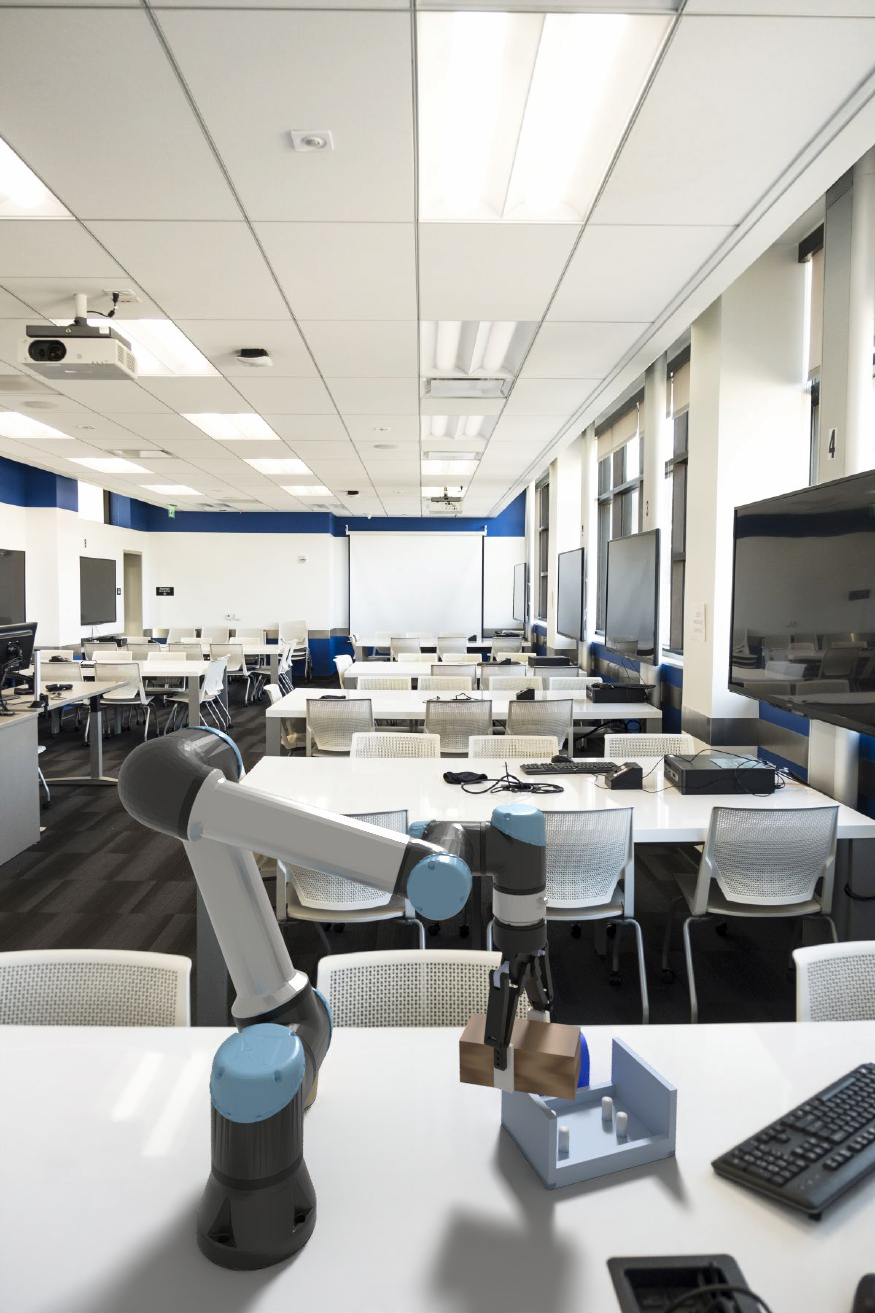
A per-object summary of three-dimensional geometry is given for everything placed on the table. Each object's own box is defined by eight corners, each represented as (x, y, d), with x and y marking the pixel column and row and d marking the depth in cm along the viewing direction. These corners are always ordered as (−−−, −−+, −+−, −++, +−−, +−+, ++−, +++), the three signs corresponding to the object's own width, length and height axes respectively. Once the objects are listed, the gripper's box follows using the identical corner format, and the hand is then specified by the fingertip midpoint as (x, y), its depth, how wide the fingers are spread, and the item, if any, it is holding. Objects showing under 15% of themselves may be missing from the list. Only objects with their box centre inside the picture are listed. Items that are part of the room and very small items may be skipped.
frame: (548, 1190, 107) (549, 1120, 106) (501, 1123, 121) (502, 1060, 121) (675, 1155, 114) (677, 1089, 114) (616, 1095, 129) (618, 1036, 128)
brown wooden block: (580, 1067, 112) (580, 1026, 112) (574, 1100, 104) (574, 1057, 104) (473, 1051, 117) (472, 1012, 116) (459, 1082, 109) (459, 1040, 109)
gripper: (505, 950, 98) (507, 1122, 99) (576, 897, 116) (576, 1043, 117) (455, 937, 102) (457, 1102, 103) (531, 888, 121) (532, 1029, 122)
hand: (521, 1071), depth 110 cm, fingers closed on brown wooden block, 9 cm apart
